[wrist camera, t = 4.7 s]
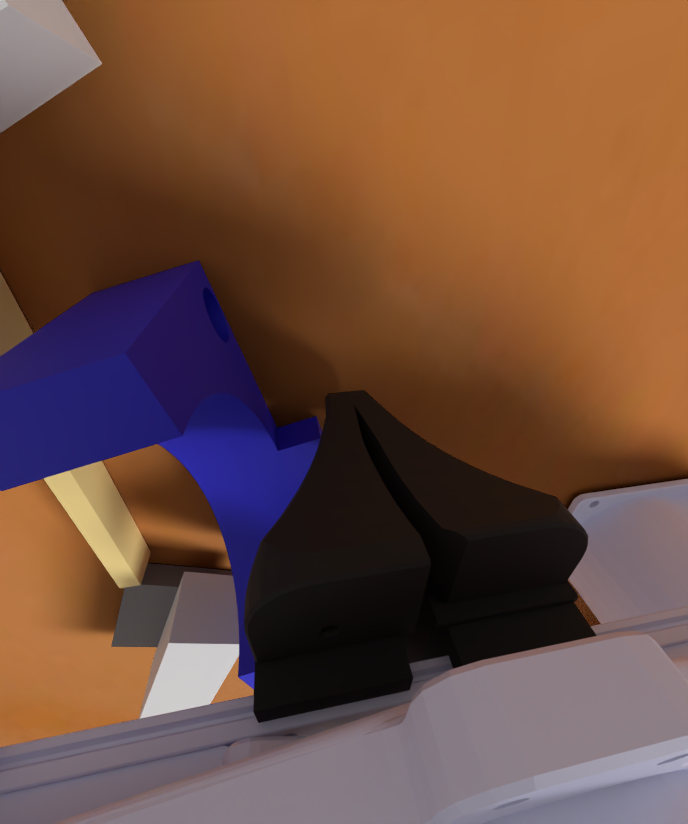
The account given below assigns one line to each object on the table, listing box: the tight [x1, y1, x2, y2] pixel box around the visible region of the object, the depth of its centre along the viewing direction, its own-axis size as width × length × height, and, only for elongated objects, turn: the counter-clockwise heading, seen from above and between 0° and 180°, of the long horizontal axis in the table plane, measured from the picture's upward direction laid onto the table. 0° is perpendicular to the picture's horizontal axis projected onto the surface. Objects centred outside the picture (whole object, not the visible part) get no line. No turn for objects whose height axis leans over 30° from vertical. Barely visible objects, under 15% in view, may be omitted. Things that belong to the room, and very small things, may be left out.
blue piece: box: [0, 260, 322, 689], centre depth 11 cm, size 12×4×6 cm, turn 13°
